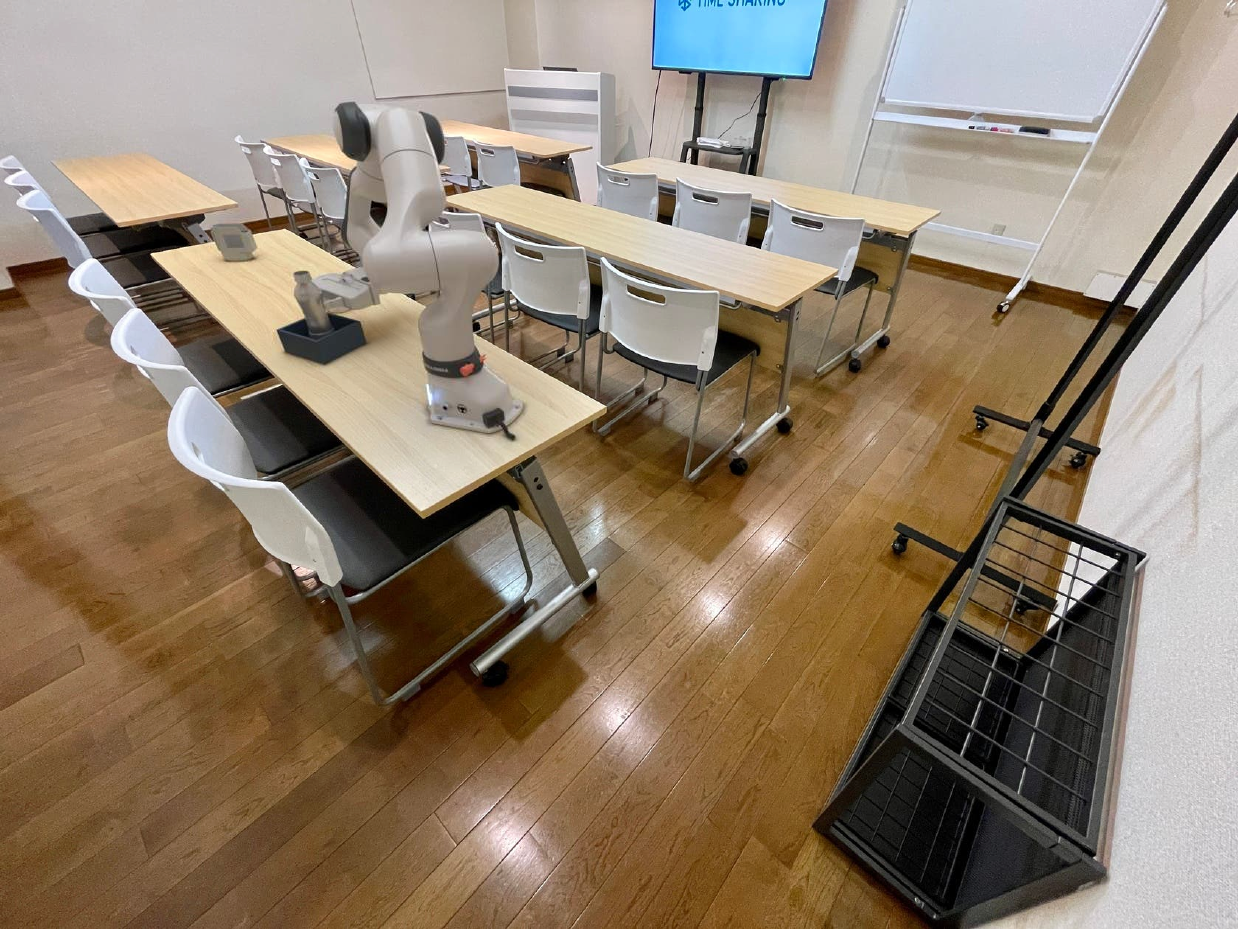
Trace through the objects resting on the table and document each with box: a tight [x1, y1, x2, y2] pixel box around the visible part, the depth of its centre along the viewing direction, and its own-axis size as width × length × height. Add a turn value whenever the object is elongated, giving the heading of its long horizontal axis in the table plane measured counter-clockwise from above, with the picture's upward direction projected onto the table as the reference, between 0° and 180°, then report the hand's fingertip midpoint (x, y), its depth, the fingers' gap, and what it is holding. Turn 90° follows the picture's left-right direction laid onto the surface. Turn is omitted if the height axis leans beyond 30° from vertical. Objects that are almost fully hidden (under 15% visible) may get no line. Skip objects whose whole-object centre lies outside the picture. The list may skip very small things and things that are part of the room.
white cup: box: [315, 272, 350, 314], centre depth 161 cm, size 8×8×10 cm
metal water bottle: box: [293, 270, 335, 340], centre depth 137 cm, size 6×7×20 cm
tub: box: [275, 311, 368, 366], centre depth 141 cm, size 15×15×7 cm
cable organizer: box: [209, 222, 258, 262], centre depth 192 cm, size 7×12×12 cm, turn 102°
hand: (312, 301), depth 136 cm, fingers open, 8 cm apart
